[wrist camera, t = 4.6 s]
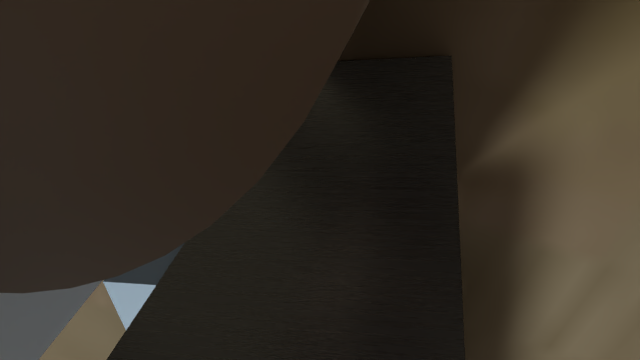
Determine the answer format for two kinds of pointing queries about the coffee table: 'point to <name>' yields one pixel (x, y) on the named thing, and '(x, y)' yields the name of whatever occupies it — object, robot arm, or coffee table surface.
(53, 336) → the robot arm
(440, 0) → the coffee table surface
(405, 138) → the square bit
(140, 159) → the walnut dowel
